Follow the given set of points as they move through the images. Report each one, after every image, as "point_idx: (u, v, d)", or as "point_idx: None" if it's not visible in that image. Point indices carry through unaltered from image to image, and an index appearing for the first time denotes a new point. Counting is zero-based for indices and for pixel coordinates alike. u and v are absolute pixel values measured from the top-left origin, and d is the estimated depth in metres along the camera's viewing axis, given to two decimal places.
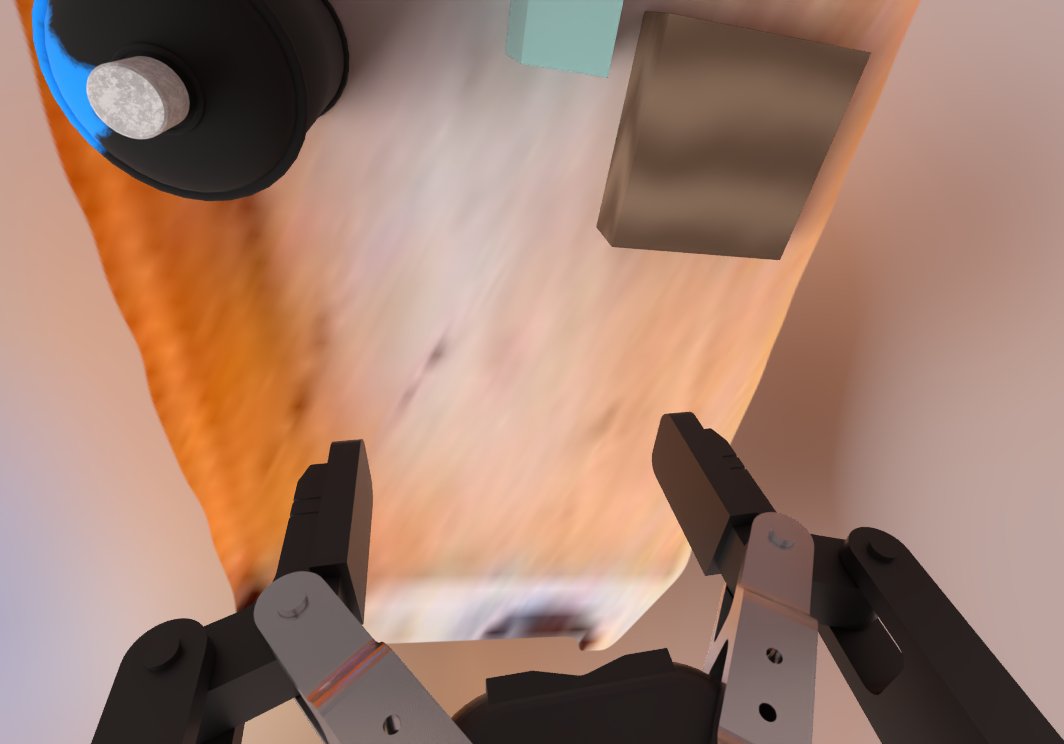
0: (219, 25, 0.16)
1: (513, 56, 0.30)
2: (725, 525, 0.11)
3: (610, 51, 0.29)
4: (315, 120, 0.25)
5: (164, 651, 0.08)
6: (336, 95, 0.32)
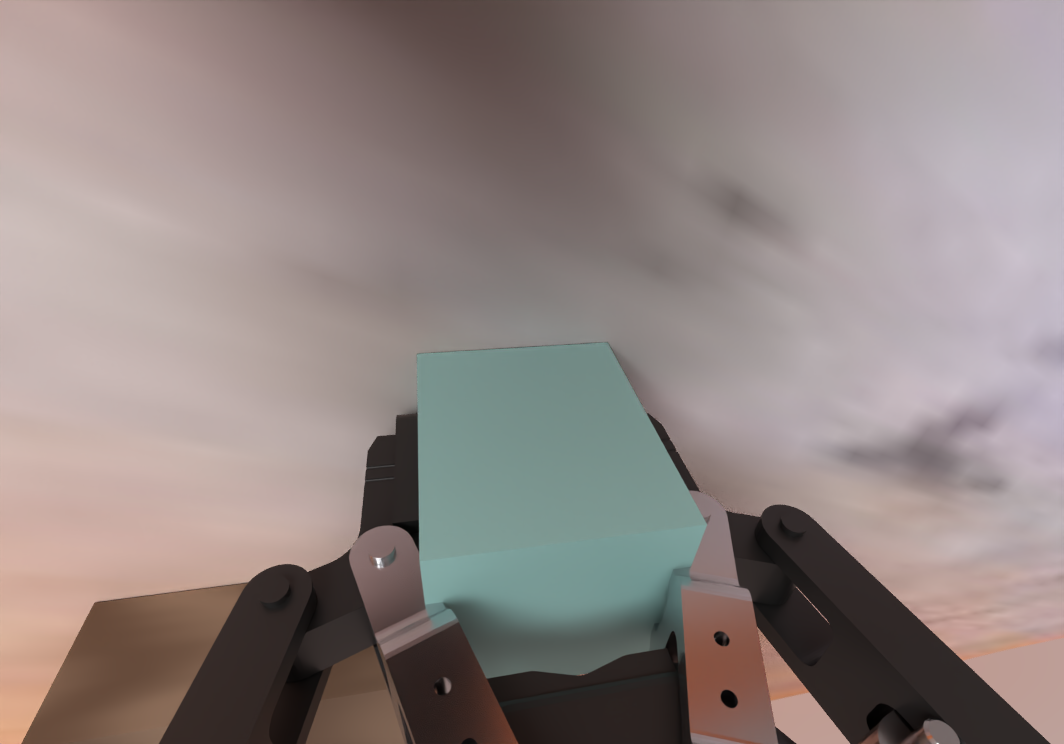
0: None
1: (424, 442, 0.11)
2: None
3: None
4: None
5: (275, 591, 0.09)
6: None
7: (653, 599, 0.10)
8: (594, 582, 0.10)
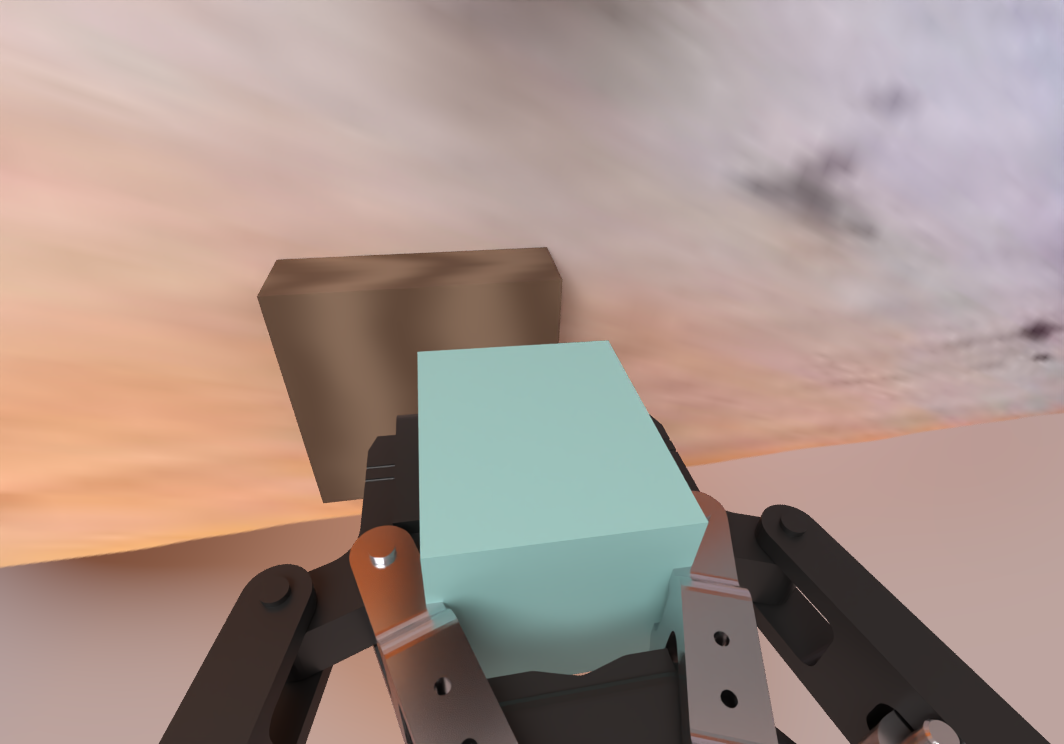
0: None
1: (424, 440, 0.11)
2: None
3: None
4: None
5: (275, 591, 0.09)
6: None
7: (654, 597, 0.10)
8: (595, 580, 0.10)
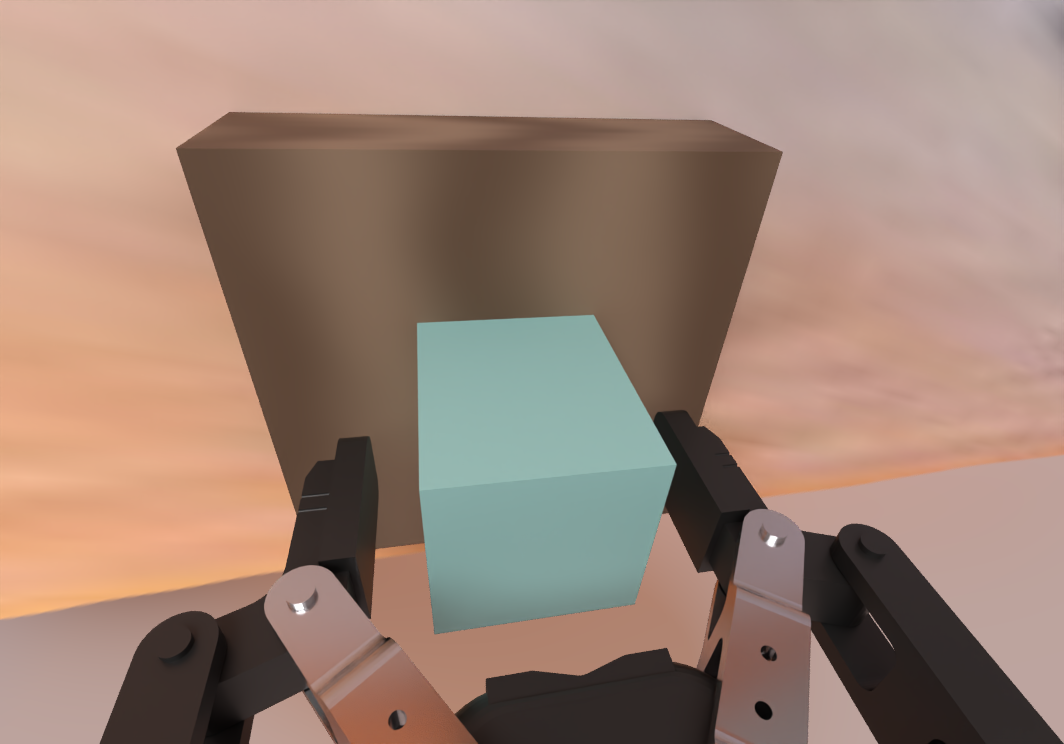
0: None
1: (423, 396, 0.12)
2: (717, 522, 0.11)
3: (487, 623, 0.13)
4: None
5: (176, 643, 0.08)
6: None
7: (630, 538, 0.12)
8: (576, 519, 0.11)
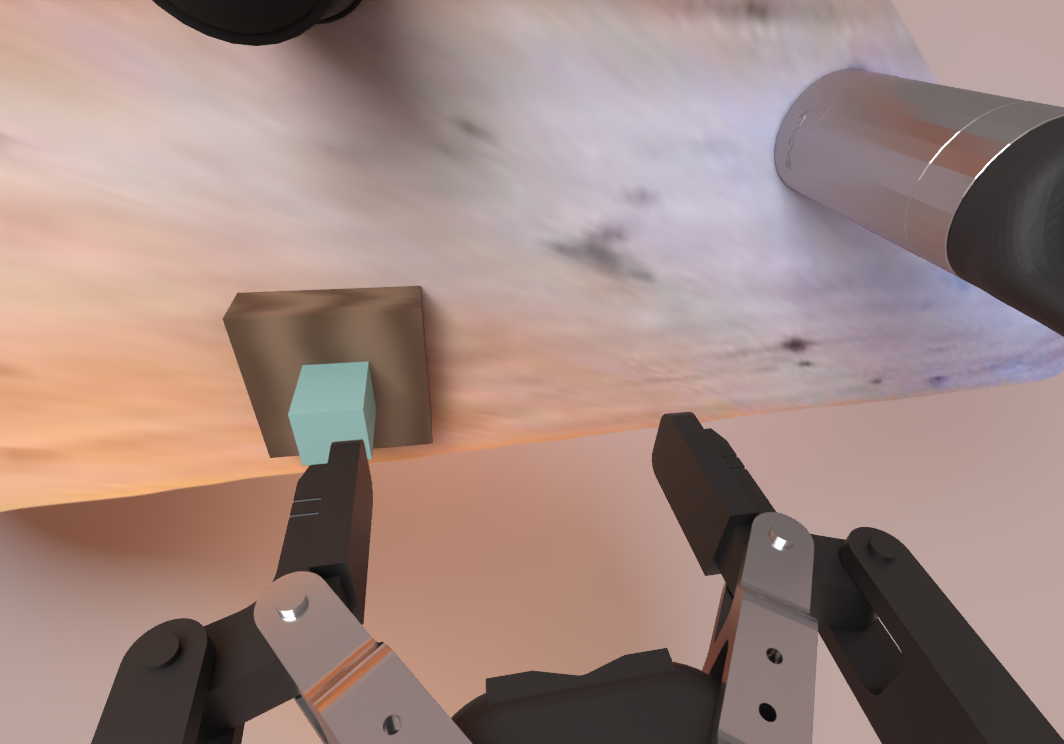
0: None
1: (296, 390, 0.39)
2: (725, 525, 0.11)
3: (319, 462, 0.39)
4: None
5: (164, 651, 0.08)
6: None
7: (359, 433, 0.38)
8: (337, 425, 0.38)
